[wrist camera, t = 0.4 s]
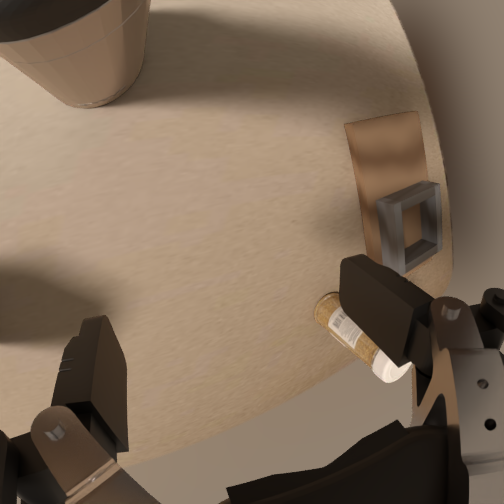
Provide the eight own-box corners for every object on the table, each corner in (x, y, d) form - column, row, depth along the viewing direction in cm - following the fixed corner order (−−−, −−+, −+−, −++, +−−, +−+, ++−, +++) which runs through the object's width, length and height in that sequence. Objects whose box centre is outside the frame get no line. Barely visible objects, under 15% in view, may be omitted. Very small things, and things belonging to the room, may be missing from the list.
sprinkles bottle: (320, 330, 38) (387, 391, 26) (307, 306, 36) (380, 369, 24) (346, 308, 39) (418, 361, 27) (336, 284, 37) (415, 336, 25)
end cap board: (344, 124, 31) (370, 122, 27) (409, 111, 34) (435, 110, 30) (370, 290, 39) (392, 303, 35) (425, 256, 42) (446, 265, 38)
